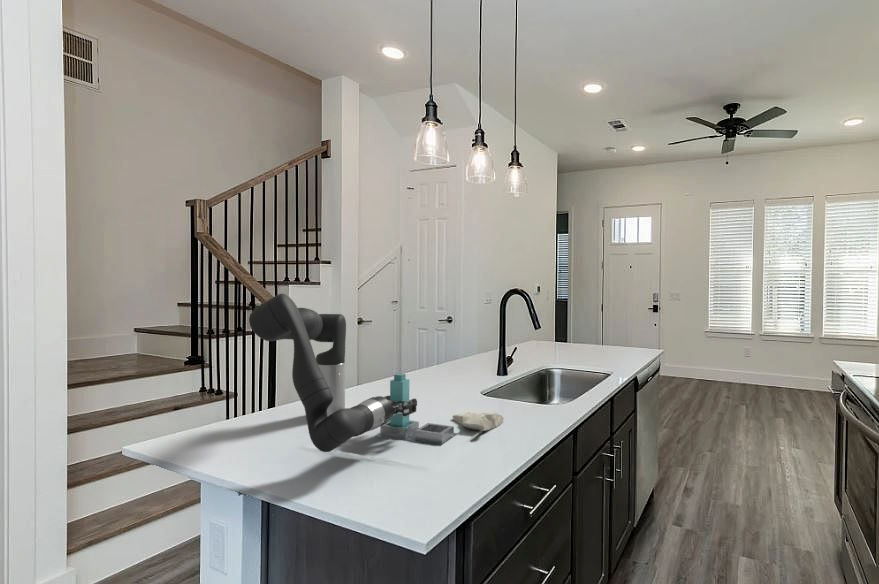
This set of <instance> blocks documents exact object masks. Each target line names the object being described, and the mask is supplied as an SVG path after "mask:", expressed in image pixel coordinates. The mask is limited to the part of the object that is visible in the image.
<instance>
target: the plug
mask: <svg viewBox="0 0 879 584" xmlns="http://www.w3.org/2000/svg"><path fill="white" fill-rule="evenodd" d="M406 377H407V376H406V373H395V374H393V379H390V383H389V388H390V389H389V393H390V394H389V396H390V400H393V401H397V400H403V401H409V400H410V378H406ZM398 405H399V408H400V403H398ZM405 405H407V404H405ZM409 420H410V415H407V416H403V413H402V414H395V415H394V416H392V418H391V419H390V426H396V427H403V428H404V427H406V426H408V425H409Z"/></svg>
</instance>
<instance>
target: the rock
mask: <svg viewBox="0 0 879 584" xmlns="http://www.w3.org/2000/svg"><path fill="white" fill-rule="evenodd" d="M452 419H453V420H454V421H455V422H457V423H458V424H461V426H462V427H465V428H467V429H469V430H475V431H477V430H478V431H480V432H481V431H482V432H485V431H490V430H491V429H494V428H495V427H496V428H498V427H499V426H500V425H501V424H502V423H503V421H504V419H505V417H504V416H503V415H502V414H500V413H497V412H466V413H465V412H464V413H462V414H453V415H452Z"/></svg>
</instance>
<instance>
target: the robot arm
mask: <svg viewBox="0 0 879 584" xmlns="http://www.w3.org/2000/svg"><path fill="white" fill-rule="evenodd" d="M248 322H249V327H250V329H251V330H252V332H253V333H254V334H255V335H256V336H257V337H259V338H260V339H262V340H263V341H266V342H275V341H276V342H277V341H280V340H293V360H292V361H293V362H292V372H291V373H292V374H291V376H292V384H293V386H294V388H295V391H296V393H297V396H298V398H299V399H300V402H301V404H302V405H303V408H304V411H305V418H306V423H307V429H308V434H309V438H310V440H311V442H312V444H313V446H314V447H315V448H316V449H317V450H319V451H321V452H323V453H329V452H332V451H333V450H335V449H337V448H339V447H340V446H342V445H343V444H344V443H346V442H347V441H348V440H349V441H350V439H352V438H355V437H356V438H357V437H359V436H361V435H364V434H365V433H367V432H371V431H374V430H376V429H377V428H380V426H382V425H384V424H386V423H388V422H389V421H390V419H391V418H392V416H394V415H395V414H402V413H403V416H407V415H409V416H410V415H411V414H414V413H416V412H417V406H418V400H417V398H410V399H409V401H403V400H397V401H393V400H390V395H386V396H380V395H379V396H372V397H370V398H368V399H365V400H363V401H362V402H360V403H359V404H357V405H354V406H352V407H348V408H346V381H345V380H346V371H345V370H346V367H345V366H346V365H345V364H346V359H345V358H346V338H347V320H346V317H345V316H344V315H343V314H341V313H318V312H317V311H315V310H313V309H311V308H306V307H298V306H297V305H296V303H295V302H294V300H293V299H292V298H291V297H290V296H288V295H287V294H285V293H279V294H276V295H274V296H273V297H271V298H270V299H268V300H266V301H265V302H262V303H261V304H260V305H258V306H257V307H255V308H254V309H253V310H252V311H251V312H250V314H249V317H248ZM311 341H315V342H319V343H332V347H331V348H329V349H328V350H325V351H323V352H319V353H318V354H316V355H315V352H314V350H313V346H312V342H311ZM398 403H400V408H399V405H398ZM405 404H407V405H405Z"/></svg>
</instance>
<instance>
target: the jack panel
mask: <svg viewBox="0 0 879 584" xmlns="http://www.w3.org/2000/svg"><path fill="white" fill-rule="evenodd" d="M419 424H420V422H419V421H417V420H416V421H415V420H411V419H409V425H408V426H406V427H404V428H403V427H396V426H390V421H389V422H388V423H386V424H384V425H382V426H380V427H379V428H380V431H379V434H376V435H375V437H378V438H385V439H391V440H399V441H405V442H411V443H416V444H425V445H428V446H429V445H430V446H437V447H442V446H443V445H444V444H446V443H447V442H449V441H451V439H453V438H455V436H457V435H459V433H457V432H454V431H455V430H454V429H455V427H454V425H446V424H438V423H430V422H427V423H426V424H424V425H423V426H420V425H419Z"/></svg>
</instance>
